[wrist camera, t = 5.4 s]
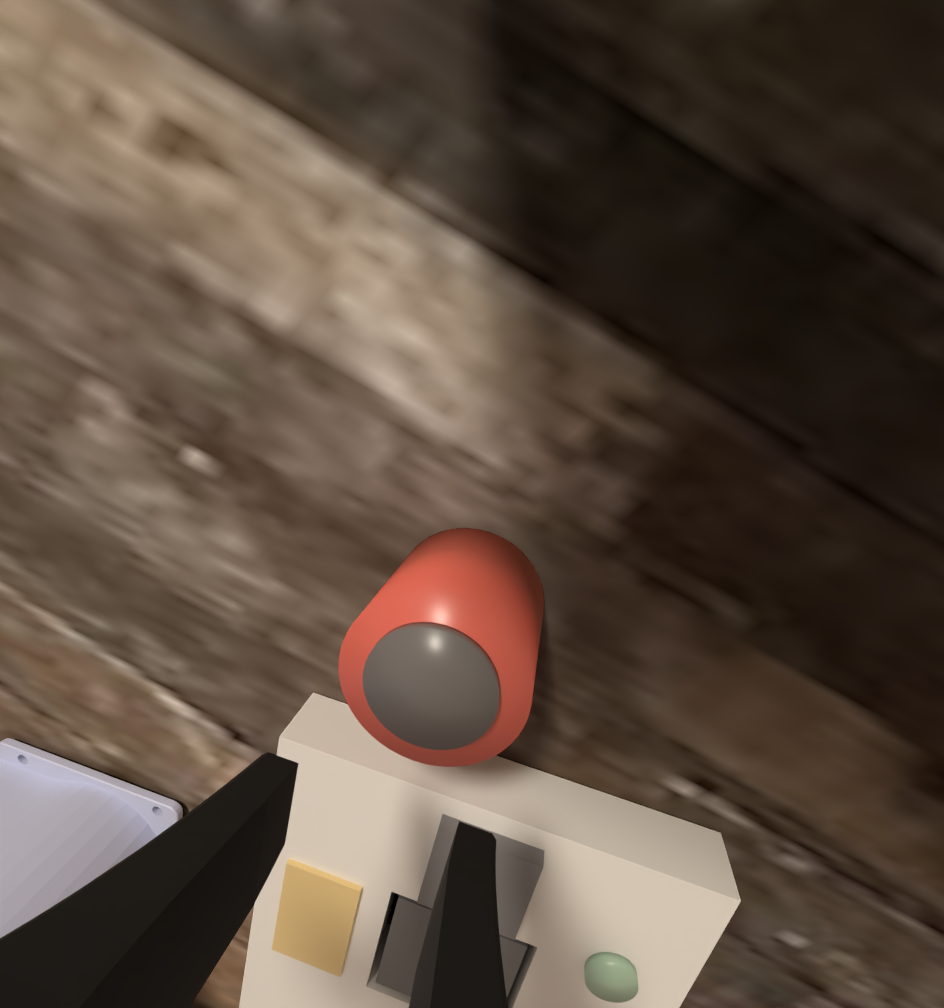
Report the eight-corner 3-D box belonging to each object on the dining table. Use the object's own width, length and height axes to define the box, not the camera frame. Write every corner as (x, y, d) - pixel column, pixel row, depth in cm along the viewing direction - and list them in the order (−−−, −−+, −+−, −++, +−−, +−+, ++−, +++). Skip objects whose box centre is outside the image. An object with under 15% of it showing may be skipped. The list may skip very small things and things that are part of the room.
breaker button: (394, 921, 24) (375, 982, 21) (416, 841, 22) (398, 897, 20) (502, 963, 23) (493, 1030, 21) (533, 884, 21) (527, 947, 19)
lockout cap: (386, 637, 20) (320, 737, 15) (413, 509, 18) (350, 571, 13) (521, 682, 19) (501, 801, 14) (563, 553, 17) (557, 636, 12)
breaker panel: (268, 955, 26) (229, 1032, 23) (313, 692, 21) (270, 748, 18) (587, 1085, 24) (588, 1186, 21) (720, 832, 19) (746, 920, 16)
